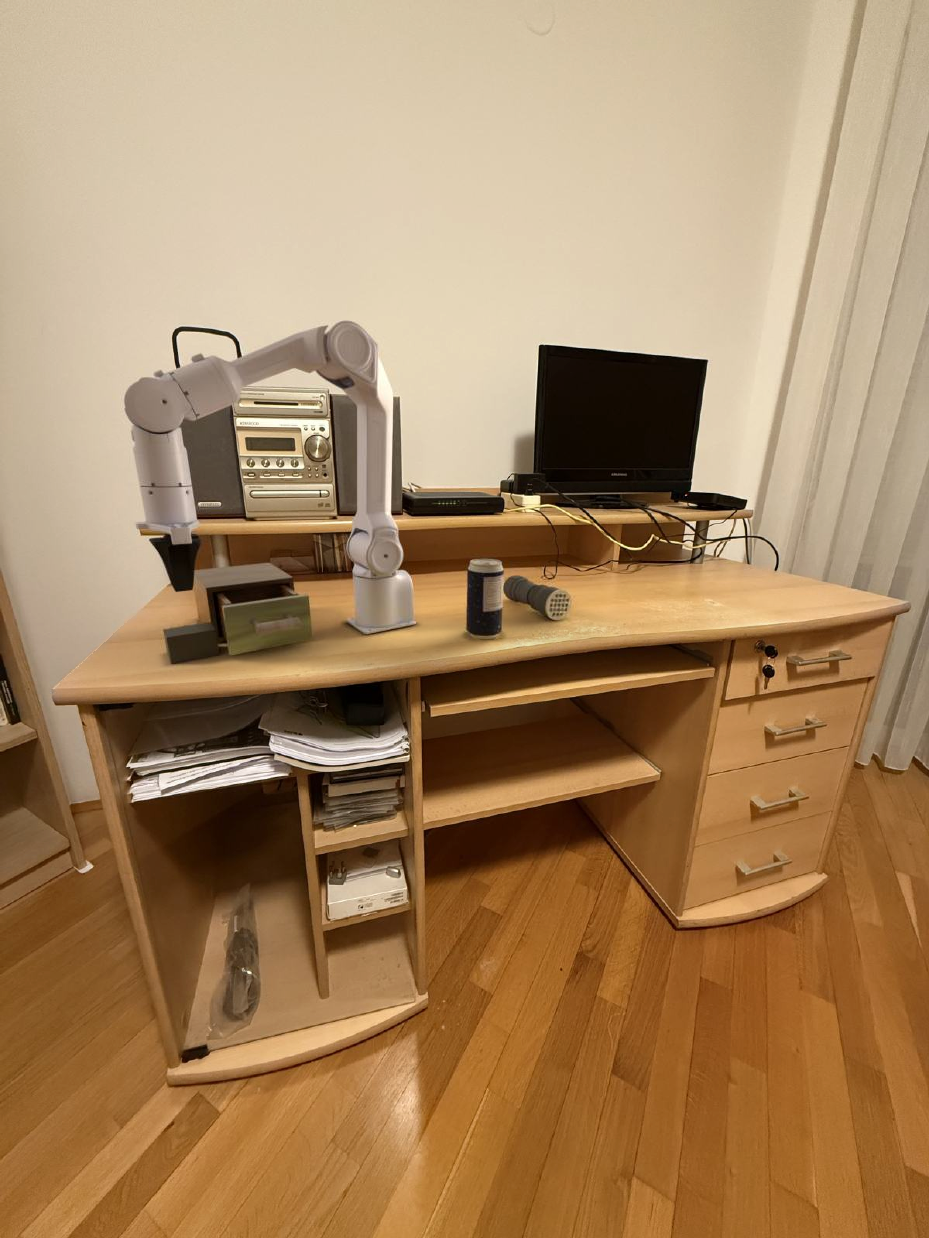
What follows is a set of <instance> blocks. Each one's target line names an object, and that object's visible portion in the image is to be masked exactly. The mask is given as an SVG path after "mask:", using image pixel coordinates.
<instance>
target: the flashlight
mask: <svg viewBox="0 0 929 1238" xmlns="http://www.w3.org/2000/svg"><path fill="white" fill-rule="evenodd" d="M503 595H504V596H505V597H506V598H507V599H508V600H510V601H511V602H514V603H517V604H518V603H521V604H524V605H527V606H530V608H531V609H532V610H534V611H536V612H538V613H540V614H541V615H542V616H544V617H546V618H549V619H551V620H554V621H560V620H562V619H564V618H565V617H567V615H569V613H570V611H571V608H572V602H573V601H572V597H571V594H570V593H569V592H568V591H566V590H564V589H561V588H558V587H556V586H548V585H546V584H537V583H534V582H533V581H531V580H529V579H528V578H527V577H525V576H521V575H519V574H515V575H511V576H509V577H508V578H507V579H506V580H504V583H503Z"/></svg>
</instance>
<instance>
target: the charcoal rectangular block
mask: <svg viewBox="0 0 929 1238" xmlns="http://www.w3.org/2000/svg"><path fill="white" fill-rule="evenodd" d="M162 632H163V637H164V643H165V648H166V654H167V656H168V659H169V662H170V665H173V664H178V663H182V662H183V663H184V662H189V661H193V660H199V659H204V658H211V657H214V656H220V647H219V643H218V640H217V633H216V629H215V628H214V626H213V625H212V623H211V622H207V623H201V622H200V623H196V624H188V625H182V626H177V627H170V628H164V629H162Z"/></svg>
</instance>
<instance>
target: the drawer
mask: <svg viewBox="0 0 929 1238" xmlns="http://www.w3.org/2000/svg"><path fill="white" fill-rule="evenodd" d="M212 593H213V599H214V605H215V612H216V619H217V626H218V629H219V630H220V631H221V633H222V634H223V635H224V637H225V638H226V640H227V641H226V644H227V651H228V654H229V656H235V655H239V654H245V653H250V652H254V651H260V650H265V649H271V648H277V647H280V646H286V645H292V644H295V643H300V642H301V643H302V642H305V641H307V642H308V641H311V640H313V630H312V629H313V627H312V616H311V605H310V603H311V602H310V595H308V594H307V593H303V594H302V593H301V594H299V593H298V592H296V590H295V591H293V590H292V589H290V588H289V587H287V586H286V585H284V584H275V585H267V586H259V587H251V588H243V589H235V590H227V591H219V592H212Z"/></svg>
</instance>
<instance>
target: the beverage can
mask: <svg viewBox="0 0 929 1238" xmlns="http://www.w3.org/2000/svg"><path fill="white" fill-rule="evenodd" d="M502 564H503V562H502V561H501V560H499V559H495V558H475V559H471V560H470V561H469V564H468V567H467V570H466V623H465V630H466V631H467V633H468V634H470V636H471V637H472V638H474V639H476V640H477V639H478V640H491V639H494V638H496V637H497V636H498V635H499V634H500V633H501V632H502V631H503V630H502V627H503V605H504V604H503V603H504V591H503V586H504V583H505V580H504V579H505V569H504V567H503V565H502Z"/></svg>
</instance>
